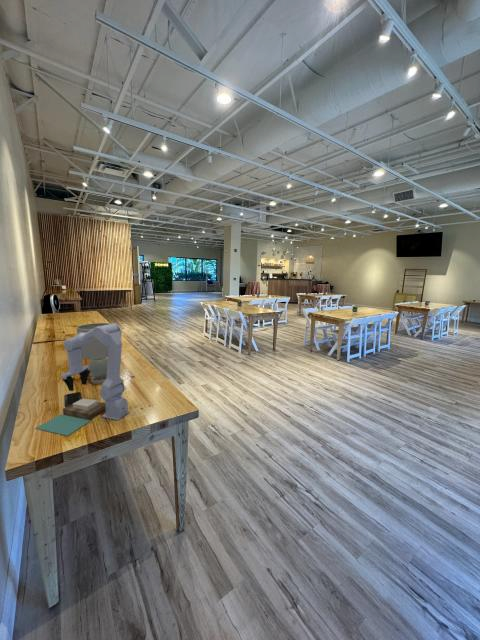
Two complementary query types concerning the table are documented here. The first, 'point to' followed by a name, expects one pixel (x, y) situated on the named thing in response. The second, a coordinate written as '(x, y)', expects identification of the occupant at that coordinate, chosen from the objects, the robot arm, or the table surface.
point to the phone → (72, 398)
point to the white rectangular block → (85, 404)
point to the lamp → (95, 354)
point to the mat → (63, 425)
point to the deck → (84, 411)
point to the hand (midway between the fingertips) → (77, 387)
